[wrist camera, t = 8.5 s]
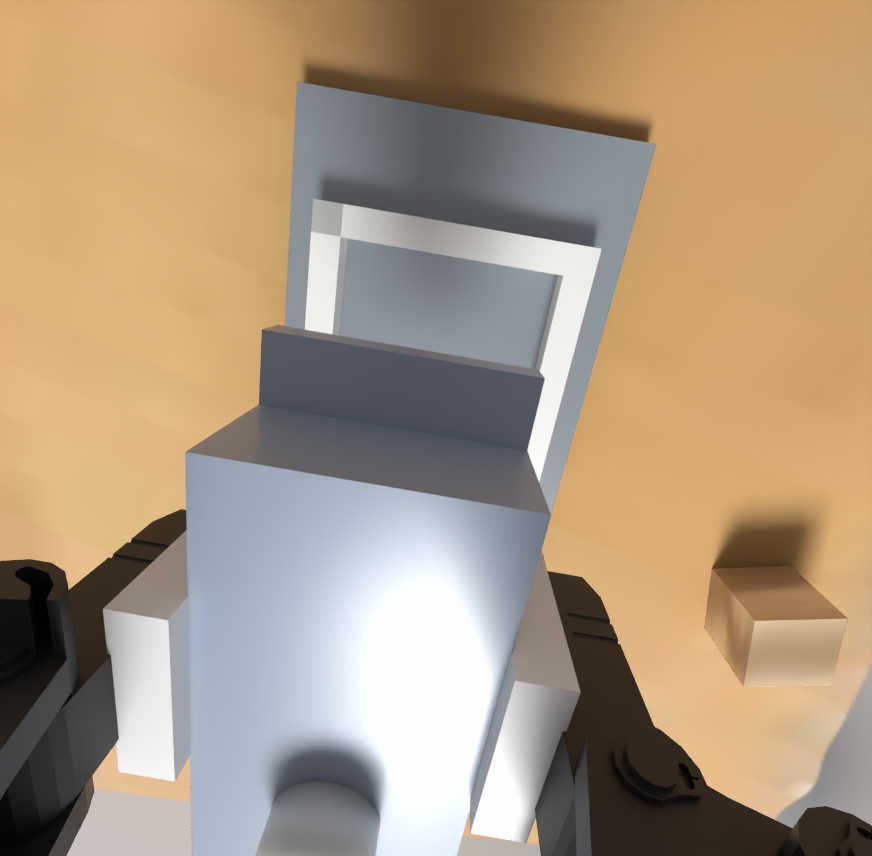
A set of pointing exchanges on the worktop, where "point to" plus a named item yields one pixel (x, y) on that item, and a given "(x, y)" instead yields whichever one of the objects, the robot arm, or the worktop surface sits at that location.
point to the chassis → (462, 239)
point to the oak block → (773, 626)
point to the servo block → (355, 596)
